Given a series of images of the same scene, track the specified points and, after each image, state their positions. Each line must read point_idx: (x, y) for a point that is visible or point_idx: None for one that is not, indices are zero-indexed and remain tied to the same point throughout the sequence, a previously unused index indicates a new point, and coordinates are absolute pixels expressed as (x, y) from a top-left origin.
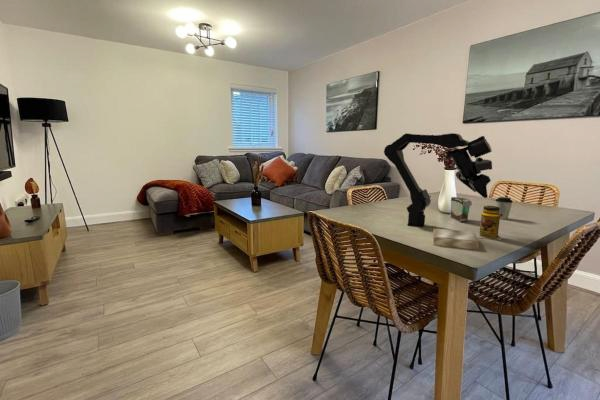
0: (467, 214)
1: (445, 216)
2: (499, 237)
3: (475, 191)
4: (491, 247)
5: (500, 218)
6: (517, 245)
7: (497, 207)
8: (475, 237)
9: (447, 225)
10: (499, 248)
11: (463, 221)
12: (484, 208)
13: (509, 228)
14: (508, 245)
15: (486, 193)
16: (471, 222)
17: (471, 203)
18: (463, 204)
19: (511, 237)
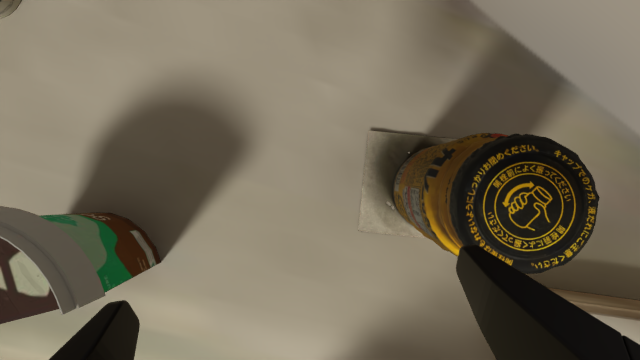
0: (105, 229)
1: None
2: (441, 139)
3: (134, 321)
4: (627, 231)
5: (14, 2)
6: (560, 95)
7: (547, 156)
8: (631, 314)
9: (251, 352)
10: (634, 198)
11: (150, 244)
12: (535, 270)
13: (231, 24)
14: (571, 139)
15: (538, 291)
16: (144, 197)
17: (21, 219)
18: (82, 300)
19: (418, 75)
